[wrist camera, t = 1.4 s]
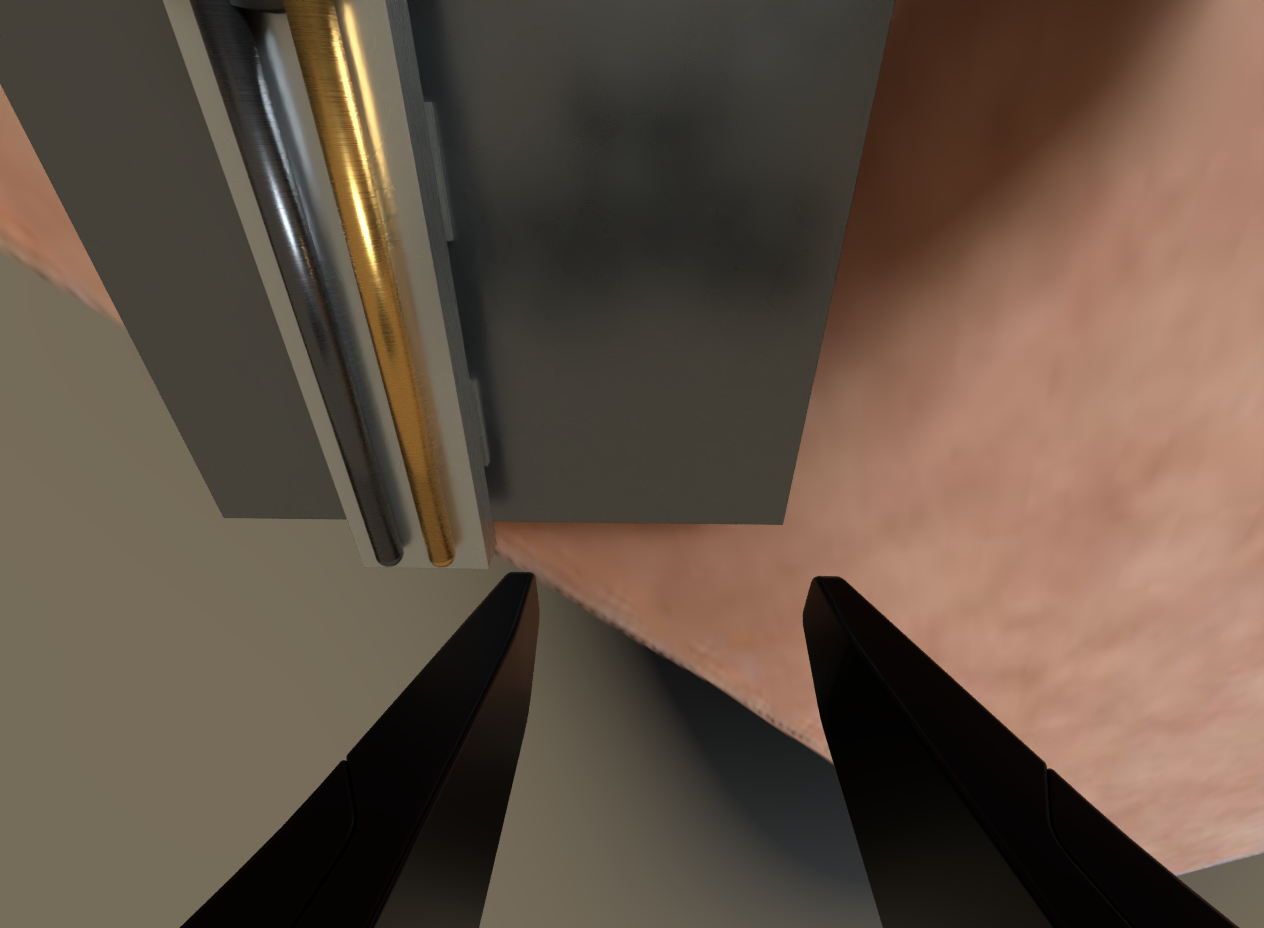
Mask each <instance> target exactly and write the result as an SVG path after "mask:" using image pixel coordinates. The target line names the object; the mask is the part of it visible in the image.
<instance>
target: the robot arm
mask: <svg viewBox="0 0 1264 928" xmlns="http://www.w3.org/2000/svg"><path fill="white" fill-rule="evenodd" d="M538 627H539V601H538V593H537V586H536V578H535V575H534V574H533V573H530V572H510V573H508V574H507V575H505V576H504V578H503V579H502V580H501V581H500V582H499V583H498V584H497V586H496V587H495V588H494V589H493V590H492V591H491V592H490V593H489V595H488V596H487V597H486V598H485V599H484V600H483V601H482V603H481V604H480V605H479V606H478V607H477V608H476V609H475V610H474V612H473V613H472V614H471V615H470V616H469V617H468V619H467V620H466V621H465V622H464V623H463V624H462V625H461V626H460V628H459V629H458V630H457V631H456V632H455V633H454V634H453V635H452V637H451V638H450V639H449V640H448V641H447V642H446V643H445V645H444V646H443V647H442V648H441V649H440V650H439V651H438V653H437V654H436V655H435V656H434V657H433V658H432V659H431V660H430V662H429V663H428V664H427V665H426V666H425V667H424V668H423V669H422V671H421V672H420V673H419V674H418V675H417V676H416V677H415V679H414V680H413V681H412V682H411V683H410V684H409V685H408V687H407V688H406V689H405V690H404V691H403V692H402V693H401V695H400V696H399V697H398V698H397V699H396V700H395V701H394V702H393V704H392V705H391V706H390V707H389V708H388V709H387V710H386V711H385V713H384V714H383V715H382V716H381V717H380V718H379V719H378V720H377V722H376V723H375V724H374V725H373V726H372V727H371V728H370V730H369V731H368V732H367V733H366V734H365V735H364V736H363V737H362V739H361V740H360V741H359V742H358V743H357V744H356V746H355V747H354V748H353V749H352V750H351V751H350V752H349V753H348V755H347V761H345V760H343V761H341V762H340V763H339V764H338V765H337V767H336V768H335V769H334V770H333V771H332V772H331V773H330V775H329V776H328V777H327V778H326V779H325V780H324V781H323V783H322V784H321V785H320V786H319V787H318V788H317V789H316V790H315V791H314V792H313V794H312V795H311V796H310V797H309V798H308V799H307V800H306V801H305V802H304V803H303V805H302V806H301V807H300V808H299V809H298V810H297V811H296V812H295V813H294V814H293V815H292V816H291V817H290V819H289V820H288V821H287V822H286V823H285V824H284V825H283V826H282V827H281V828H280V829H279V830H278V831H277V832H276V833H275V834H274V835H273V836H272V837H271V838H270V839H269V840H268V841H267V842H266V843H265V844H264V845H263V846H262V848H260V849H259V850H258V851H257V852H256V853H255V854H254V855H253V856H252V857H251V859H249V860H248V861H247V863H246V864H244V865H243V866H242V868H240V869H239V870H238V872H236V873H235V874H234V875H233V876H232V877H231V879H229V880H228V881H227V882H226V883H225V884H224V885H223V886H222V887H221V888H220V889H219V890H218V891H217V892H216V893H215V894H214V895H213V896H212V897H211V898H210V899H209V900H208V901H207V902H206V903H205V904H204V905H203V906H201V908H199V909H198V910H197V911H196V912H195V913H194V914H193V915H192V916H191V917H190V918H189V919H188V920H187V921H186V922H185V923H184V924H183V925H182V926H181V927H180V928H479V926H480V921H481V917H482V913H483V908H484V904H485V900H486V896H487V891H488V887H489V883H490V878H491V874H492V870H493V866H494V861H495V857H496V852H497V848H498V844H499V840H500V836H501V831H502V827H503V823H504V818H505V814H506V810H507V805H508V801H509V796H510V793H511V788H512V784H513V780H514V775H515V771H516V767H517V763H518V758H519V754H520V750H521V745H522V741H523V737H524V732H525V727H526V723H527V717H528V711H529V705H530V698H531V689H532V679H533V671H534V663H535V653H536V645H537V644H536V643H537V636H538ZM803 628H804V633H805V638H806V644H807V649H808V655H809V660H810V666H811V671H812V677H813V682H814V688H815V693H816V698H817V704H818V709H819V713H820V718H821V722H822V726H823V729H824V733H825V737H826V740H827V743H828V747H829V750H830V753H831V757H832V760H833V763H834V767H835V770H836V773H837V776H838V780H839V783H840V786H841V790H842V793H843V796H844V800H845V803H846V806H847V810H848V813H849V816H850V820H851V823H852V826H853V830H854V833H855V836H856V840H857V843H858V846H859V850H860V853H861V856H862V859H863V863H864V866H865V870H866V873H867V876H868V880H869V883H870V886H871V890H872V893H873V896H874V900H875V902H876V906H877V909H878V913H879V916H880V920H881V923H882V926H883V928H1239V927H1238V926H1237V925H1235V924H1234V923H1233V922H1232V921H1230V920H1229V919H1228V918H1227V917H1226V916H1224V915H1223V914H1222V913H1220V912H1219V911H1218V910H1217V909H1215V908H1214V907H1213V906H1212V905H1210V904H1209V903H1208V902H1207V901H1206V900H1204V899H1203V898H1202V897H1201V896H1200V895H1198V894H1197V893H1196V892H1195V891H1193V890H1192V889H1191V888H1190V887H1188V886H1187V885H1186V884H1185V883H1183V882H1182V881H1181V880H1180V879H1179V878H1177V877H1176V876H1175V875H1174V874H1173V873H1171V872H1170V871H1169V870H1168V869H1167V868H1165V867H1164V866H1163V865H1162V864H1161V863H1159V862H1158V861H1157V860H1156V859H1155V858H1153V857H1152V856H1151V855H1150V854H1149V853H1147V852H1146V851H1145V850H1144V849H1143V848H1141V847H1140V846H1139V845H1138V844H1137V843H1135V842H1134V841H1133V840H1132V839H1130V838H1129V837H1128V836H1127V835H1126V834H1125V833H1124V832H1122V831H1121V830H1120V829H1119V828H1118V827H1117V826H1116V825H1115V824H1113V823H1112V822H1111V821H1110V820H1109V819H1108V818H1107V817H1105V816H1104V815H1103V814H1102V813H1101V812H1100V811H1099V810H1098V809H1096V808H1095V807H1094V806H1093V805H1092V804H1091V803H1090V802H1088V801H1087V800H1086V799H1085V798H1084V797H1083V796H1082V795H1081V794H1079V793H1078V792H1077V791H1076V790H1075V789H1074V788H1073V787H1072V786H1071V785H1070V784H1068V783H1067V782H1066V781H1065V780H1064V779H1063V778H1062V777H1061V776H1060V775H1059V774H1057V773H1056V772H1055V771H1054V770H1053V769H1047V765H1046V763H1045V762H1044V761H1043V760H1042V759H1041V758H1040V757H1038V756H1037V755H1036V754H1035V753H1034V752H1033V751H1032V750H1031V749H1030V748H1029V747H1028V746H1026V745H1025V744H1024V743H1023V742H1022V741H1021V740H1020V739H1019V738H1018V737H1017V736H1015V735H1014V734H1013V733H1012V732H1011V731H1010V730H1009V729H1008V728H1007V727H1006V726H1004V725H1003V724H1002V723H1001V722H1000V721H999V720H998V719H997V718H996V717H995V716H993V715H992V714H991V713H990V712H989V711H988V710H987V709H986V708H985V707H984V706H983V705H981V704H980V703H979V702H978V701H977V700H976V699H975V698H974V697H973V696H972V695H970V694H969V693H968V692H967V691H966V690H965V689H964V688H963V687H962V686H961V685H959V684H958V683H957V682H956V681H955V680H954V679H953V678H952V677H951V676H950V675H948V674H947V673H946V672H945V671H944V670H943V669H942V668H941V667H940V666H939V665H938V664H936V663H935V662H934V661H933V660H932V659H931V658H930V657H929V656H928V655H927V654H925V653H924V652H923V651H922V650H921V649H920V648H919V647H918V646H917V645H916V644H914V643H913V642H912V641H911V640H910V639H909V638H908V637H907V636H906V635H905V634H903V633H902V632H901V631H900V630H899V629H898V628H897V627H896V626H895V625H894V624H893V623H891V622H890V621H889V620H888V619H887V618H886V617H885V616H884V615H883V614H882V613H880V612H879V611H878V610H877V609H876V608H875V607H874V606H873V605H872V604H871V603H869V602H868V601H867V600H866V599H865V598H864V597H863V596H862V595H861V594H860V593H858V592H857V591H856V590H855V589H854V588H853V587H852V586H851V585H850V584H849V583H847V582H846V581H845V580H844V579H843V578H841V577H838V576H817V577H815V578H813V580H812V582H811V585H810V588H809V592H808V596H807V599H806V603H805V607H804V611H803Z"/></svg>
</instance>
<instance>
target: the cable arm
mask: <svg viewBox="0 0 1264 928" xmlns="http://www.w3.org/2000/svg"><path fill="white" fill-rule="evenodd" d="M163 2H164V5H165V8H166V11H167V14H168V16H169V19H170V22H171V25H172V28H173V31H174V33H175V36H176V39H177V42H178V45H179V47H180V50H181V53H182V56H183V59H184V62H185V64H186V67H187V70H188V73H189V76H190V78H191V81H192V84H193V87H194V90H195V93H196V95H197V98H198V101H199V104H200V107H201V109H202V112H203V115H204V118H205V121H206V124H207V126H208V129H209V132H210V135H211V138H212V140H213V143H214V146H215V149H216V152H217V155H218V157H219V160H220V163H221V166H222V169H223V171H224V174H225V177H226V180H227V183H228V186H229V188H230V191H231V194H232V197H233V200H234V202H235V205H236V208H237V211H238V214H239V217H240V219H241V222H242V225H243V228H244V231H245V233H246V236H247V239H248V242H249V245H250V248H251V250H252V253H253V256H254V259H255V262H256V264H257V267H258V270H259V273H260V276H261V278H262V281H263V284H264V287H265V290H266V293H267V295H268V298H269V301H270V304H271V307H272V309H273V312H274V315H275V318H276V321H277V324H278V326H279V329H280V332H281V335H282V338H283V340H284V343H285V346H286V349H287V352H288V355H289V357H290V360H291V363H292V366H293V369H294V371H295V374H296V377H297V380H298V383H299V386H300V388H301V391H302V394H303V397H304V400H305V402H306V405H307V408H308V411H309V414H310V417H311V419H312V422H313V425H314V428H315V431H316V433H317V436H318V439H319V442H320V445H321V448H322V450H323V453H324V456H325V459H326V462H327V464H328V467H329V470H330V473H331V476H332V479H333V481H334V484H335V487H336V490H337V493H338V495H339V498H340V501H341V504H342V507H343V510H344V512H345V515H346V518H347V521H348V523H349V526H350V529H351V532H352V535H353V538H354V540H355V543H356V546H357V549H358V552H359V555H360V557H361V560H362V563H363V565H364V568H446V569H447V568H449V569H450V568H451V569H489V567H490V564H491V560H492V557H493V554H494V551H495V548H496V544H497V543H496V537H495V531H494V525H493V519H492V512H491V506H490V500H489V494H488V488H487V482H486V476H485V470H484V464H483V458H482V452H481V446H480V440H479V434H478V428H477V422H476V416H475V410H474V403H473V397H472V391H471V385H470V379H469V373H468V367H467V361H466V355H465V349H464V343H463V337H462V331H461V325H460V319H459V313H458V307H457V301H456V294H455V288H454V282H453V276H452V270H451V264H450V258H449V252H448V246H447V240H446V234H445V228H444V222H443V216H442V210H441V204H440V198H439V192H438V185H437V179H436V173H435V167H434V161H433V155H432V149H431V143H430V137H429V131H428V125H427V119H426V113H425V107H424V101H423V95H422V89H421V82H420V76H419V70H418V64H417V58H416V52H415V46H414V40H413V34H412V28H411V22H410V16H409V10H408V4H407V0H163Z"/></svg>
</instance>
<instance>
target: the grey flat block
mask: <svg viewBox="0 0 1264 928" xmlns="http://www.w3.org/2000/svg"><path fill="white" fill-rule="evenodd" d="M894 3H895V0H407V4H408V10H409V16H410V22H411V28H412V34H413V40H414V46H415V52H416V58H417V64H418V70H419V76H420V82H421V89H422V95H423V101H424V107H425V113H426V119H427V125H428V131H429V137H430V143H431V149H432V155H433V161H434V167H435V173H436V179H437V185H438V192H439V198H440V204H441V210H442V216H443V222H444V228H445V234H446V240H447V246H448V252H449V258H450V264H451V270H452V276H453V282H454V288H455V294H456V301H457V307H458V313H459V319H460V325H461V331H462V337H463V343H464V349H465V355H466V361H467V367H468V373H469V379H470V385H471V391H472V397H473V403H474V410H475V416H476V422H477V428H478V434H479V440H480V446H481V452H482V458H483V464H484V470H485V476H486V482H487V488H488V494H489V500H490V506H491V512H492V519H493V521H523V522H604V523H685V524H766V525H783V521H784V516H785V511H786V507H787V502H788V497H789V493H790V488H791V483H792V479H793V474H794V469H795V465H796V460H797V455H798V451H799V446H800V441H801V437H802V432H803V427H804V423H805V418H806V413H807V409H808V404H809V399H810V395H811V390H812V385H813V381H814V376H815V371H816V367H817V362H818V357H819V353H820V348H821V343H822V339H823V334H824V329H825V325H826V320H827V315H828V311H829V306H830V301H831V297H832V292H833V287H834V283H835V278H836V273H837V269H838V264H839V259H840V255H841V250H842V245H843V241H844V236H845V231H846V227H847V222H848V217H849V213H850V208H851V203H852V199H853V194H854V189H855V185H856V180H857V175H858V171H859V166H860V161H861V157H862V152H863V147H864V143H865V138H866V133H867V129H868V124H869V119H870V115H871V110H872V105H873V101H874V96H875V91H876V87H877V82H878V77H879V73H880V68H881V63H882V59H883V54H884V49H885V45H886V40H887V35H888V31H889V26H890V21H891V17H892V12H893V7H894ZM0 84H1V86H2V88H3V90H4V92H5V94H6V96H7V98H8V99H9V101H10V103H11V105H12V107H13V109H14V111H15V113H16V115H17V117H18V119H19V121H20V123H21V125H22V127H23V129H24V131H25V133H26V134H27V136H28V138H29V140H30V142H31V144H32V146H33V148H34V150H35V152H36V154H37V156H38V158H39V160H40V162H41V164H42V166H43V168H44V169H45V171H46V173H47V175H48V177H49V179H50V181H51V183H52V185H53V187H54V189H55V191H56V193H57V195H58V197H59V199H60V201H61V202H62V204H63V206H64V208H65V210H66V212H67V214H68V216H69V218H70V220H71V222H72V224H73V226H74V228H75V230H76V232H77V234H78V236H79V237H80V239H81V241H82V243H83V245H84V247H85V249H86V251H87V253H88V255H89V257H90V259H91V261H92V263H93V265H94V267H95V269H96V271H97V272H98V274H99V276H100V278H101V280H102V282H103V284H104V286H105V288H106V290H107V292H108V294H109V296H110V298H111V300H112V302H113V304H114V306H115V307H116V309H117V311H118V313H119V315H120V317H121V319H122V321H123V323H124V325H125V327H126V329H127V331H128V333H129V335H130V337H131V338H132V340H133V342H134V344H135V346H136V348H137V350H138V352H139V354H140V356H141V358H142V360H143V362H144V364H145V366H146V368H147V369H148V372H149V374H150V375H151V377H152V379H153V381H154V383H155V385H156V387H157V389H158V391H159V393H160V395H161V397H162V399H163V401H164V403H165V405H166V407H167V409H168V410H169V412H170V414H171V416H172V418H173V420H174V422H175V424H176V426H177V428H178V430H179V432H180V433H181V436H182V437H183V440H184V441H185V443H186V445H187V447H188V449H189V451H190V453H191V455H192V457H193V459H194V461H195V463H196V465H197V467H198V469H199V471H200V473H201V475H202V477H203V478H204V480H205V482H206V484H207V486H208V488H209V490H210V492H211V494H212V496H213V498H214V500H215V502H216V504H217V506H218V508H219V510H220V511H221V513H222V515H223V517H224V518H280V519H282V518H283V519H347V518H346V515H345V512H344V510H343V507H342V504H341V501H340V498H339V495H338V493H337V490H336V487H335V484H334V481H333V479H332V476H331V473H330V470H329V467H328V464H327V462H326V459H325V456H324V453H323V450H322V448H321V445H320V442H319V439H318V436H317V433H316V431H315V428H314V425H313V422H312V419H311V417H310V414H309V411H308V408H307V405H306V402H305V400H304V397H303V394H302V391H301V388H300V386H299V383H298V380H297V377H296V374H295V371H294V369H293V366H292V363H291V360H290V357H289V355H288V352H287V349H286V346H285V343H284V340H283V338H282V335H281V332H280V329H279V326H278V324H277V321H276V318H275V315H274V312H273V309H272V307H271V304H270V301H269V298H268V295H267V293H266V290H265V287H264V284H263V281H262V278H261V276H260V273H259V270H258V267H257V264H256V262H255V259H254V256H253V253H252V250H251V248H250V245H249V242H248V239H247V236H246V233H245V231H244V228H243V225H242V222H241V219H240V217H239V214H238V211H237V208H236V205H235V202H234V200H233V197H232V194H231V191H230V188H229V186H228V183H227V180H226V177H225V174H224V171H223V169H222V166H221V163H220V160H219V157H218V155H217V152H216V149H215V146H214V143H213V140H212V138H211V135H210V132H209V129H208V126H207V124H206V121H205V118H204V115H203V112H202V109H201V107H200V104H199V101H198V98H197V95H196V93H195V90H194V87H193V84H192V81H191V78H190V76H189V73H188V70H187V67H186V64H185V62H184V59H183V56H182V53H181V50H180V47H179V45H178V42H177V39H176V36H175V33H174V31H173V28H172V25H171V22H170V19H169V16H168V14H167V11H166V8H165V5H164V2H163V0H0Z"/></svg>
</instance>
